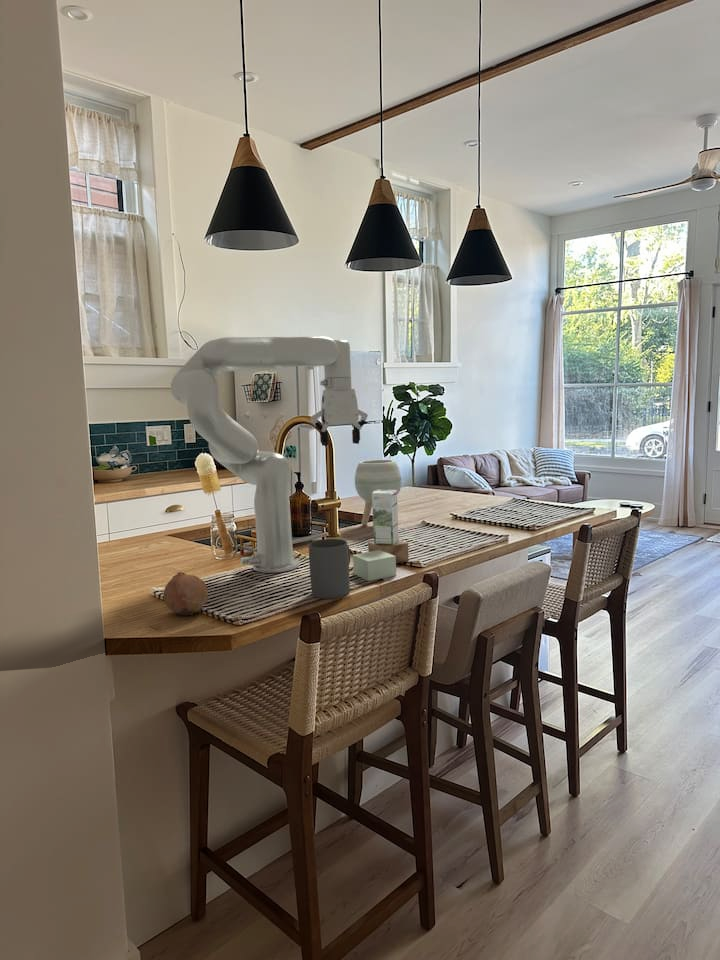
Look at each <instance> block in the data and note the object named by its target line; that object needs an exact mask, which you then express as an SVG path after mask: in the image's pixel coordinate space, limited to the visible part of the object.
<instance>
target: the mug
mask: <svg viewBox="0 0 720 960" xmlns="http://www.w3.org/2000/svg"><path fill="white" fill-rule="evenodd" d="M350 548H351V547H350V545H349V544H348V542H347V541H346V540H344V539H339V538H325V539H318V540H314V541H311V542H310V543H309V544H308V558H309V559H308V561H309V574H310V575H309V578H310V579H309V580H310V588H311V595H312V596H313V597H315V598H316V599H317V598H318V599H324V600H325V599H326V600H330V599H333V600H334V599H339V598H342V597H345V596H348V594H349V593H350V591H351V590H350V589H351V587H350V586H351V585H350V584H351V583H350V563H351V549H350Z"/></svg>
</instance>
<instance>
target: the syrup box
mask: <svg viewBox="0 0 720 960" xmlns="http://www.w3.org/2000/svg"><path fill="white" fill-rule="evenodd" d="M398 508H399V507H398V495H397V490H375V491H374V492H372V509H371V510H372V524H373V525H372V526H373V541H374V544H381V545H394V544H395V543H397V542H398V541H399V540H400V533H399V517H398V516H399V513H398V512H399V509H398Z"/></svg>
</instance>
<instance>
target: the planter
mask: <svg viewBox="0 0 720 960" xmlns="http://www.w3.org/2000/svg"><path fill="white" fill-rule="evenodd" d="M354 486H355V491H356V493H357V494H358V496H359V497H360V498H361V499H362V501H364V502H365V503H364V509H363V514H362V518H361V526H367V525H368V524H369V523H368V522H369V518H370V517H371V512H372V510H373V509H372V492H374V491H375V490H397V496H398V495H399V493H400V491H401V489H402V475H401V470H400V467H399V465H398V463H397V461H396V460H394V459H370V460H362V461H359V462H358V464H357V467H356V470H355V475H354Z"/></svg>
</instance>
